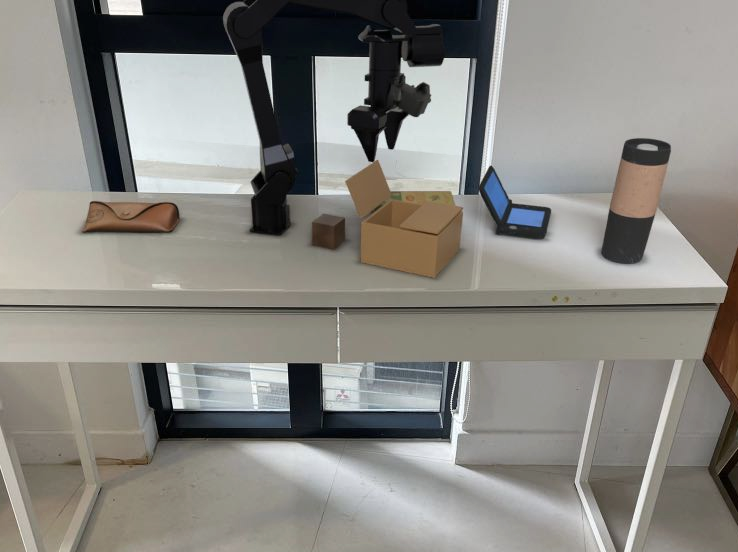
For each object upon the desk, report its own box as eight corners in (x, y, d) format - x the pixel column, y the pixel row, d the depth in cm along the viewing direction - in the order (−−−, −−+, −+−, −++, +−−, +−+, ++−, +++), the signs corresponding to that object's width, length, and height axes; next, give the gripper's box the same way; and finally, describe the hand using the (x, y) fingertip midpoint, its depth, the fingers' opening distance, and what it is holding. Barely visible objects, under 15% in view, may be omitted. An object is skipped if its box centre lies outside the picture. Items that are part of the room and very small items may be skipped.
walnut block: (312, 245, 135) (311, 221, 132) (323, 236, 138) (323, 213, 135) (334, 249, 133) (333, 226, 130) (345, 240, 136) (345, 217, 134)
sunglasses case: (78, 231, 138) (78, 196, 138) (91, 237, 145) (90, 203, 145) (172, 232, 138) (171, 197, 138) (180, 237, 145) (179, 203, 145)
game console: (544, 242, 136) (552, 195, 131) (472, 233, 139) (477, 187, 134) (551, 213, 148) (559, 169, 143) (485, 206, 151) (490, 163, 146)
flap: (362, 218, 124) (360, 218, 124) (392, 195, 133) (390, 195, 133) (346, 180, 121) (344, 181, 121) (378, 159, 131) (376, 160, 131)
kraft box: (360, 262, 128) (361, 217, 124) (389, 236, 138) (391, 194, 133) (434, 278, 123) (438, 232, 118) (459, 250, 133) (463, 206, 128)
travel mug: (590, 251, 132) (614, 140, 121) (623, 244, 135) (649, 135, 123) (619, 267, 126) (646, 153, 115) (653, 260, 129) (683, 147, 118)
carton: (454, 225, 143) (456, 204, 140) (373, 224, 143) (374, 203, 140) (450, 209, 149) (451, 189, 147) (372, 209, 150) (373, 189, 147)
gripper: (406, 82, 119) (401, 175, 128) (445, 63, 133) (438, 148, 142) (346, 75, 124) (345, 166, 132) (389, 58, 137) (386, 141, 146)
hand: (381, 155), depth 138 cm, fingers open, 9 cm apart
